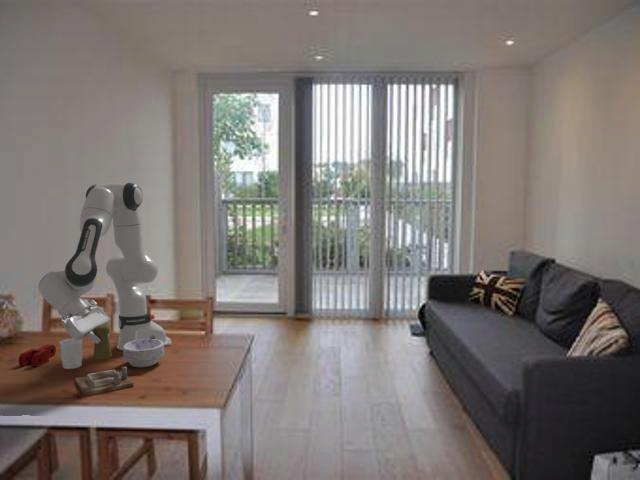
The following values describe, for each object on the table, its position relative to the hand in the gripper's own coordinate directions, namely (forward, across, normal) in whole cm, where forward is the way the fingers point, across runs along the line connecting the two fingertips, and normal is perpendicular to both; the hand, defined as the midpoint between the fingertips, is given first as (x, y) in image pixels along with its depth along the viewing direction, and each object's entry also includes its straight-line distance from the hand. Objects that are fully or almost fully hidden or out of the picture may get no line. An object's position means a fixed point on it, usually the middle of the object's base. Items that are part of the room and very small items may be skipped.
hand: (103, 339), depth 194 cm
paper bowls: (+14, +22, +8) cm, 28 cm away
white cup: (-4, +16, +27) cm, 32 cm away
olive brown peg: (+4, 0, +5) cm, 6 cm away
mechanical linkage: (-15, +21, +38) cm, 46 cm away
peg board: (+11, 0, +12) cm, 16 cm away
